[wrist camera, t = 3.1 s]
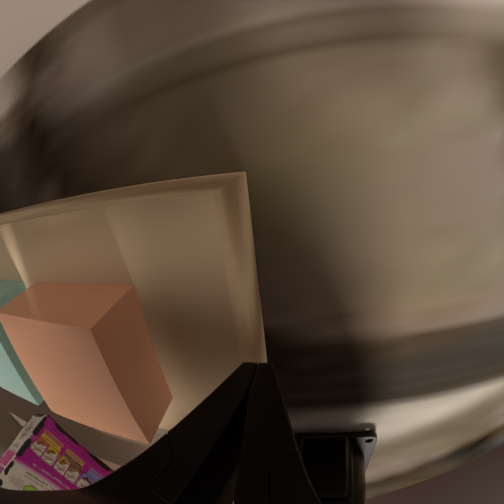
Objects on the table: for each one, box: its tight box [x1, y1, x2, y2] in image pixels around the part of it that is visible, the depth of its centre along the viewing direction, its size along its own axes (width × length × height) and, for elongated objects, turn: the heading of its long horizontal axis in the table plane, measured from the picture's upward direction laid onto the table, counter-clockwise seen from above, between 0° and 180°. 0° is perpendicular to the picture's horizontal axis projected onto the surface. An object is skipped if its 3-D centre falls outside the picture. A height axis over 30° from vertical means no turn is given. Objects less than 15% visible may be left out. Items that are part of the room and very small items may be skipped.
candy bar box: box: [0, 414, 113, 490], centre depth 18 cm, size 11×5×16 cm, turn 32°
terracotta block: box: [0, 282, 173, 444], centre depth 9 cm, size 5×5×2 cm
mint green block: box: [0, 280, 44, 406], centre depth 11 cm, size 5×5×2 cm
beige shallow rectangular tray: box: [0, 171, 267, 430], centre depth 13 cm, size 10×16×4 cm, turn 96°
